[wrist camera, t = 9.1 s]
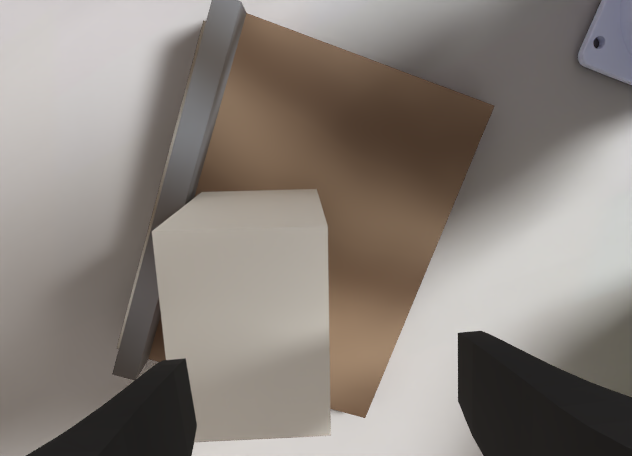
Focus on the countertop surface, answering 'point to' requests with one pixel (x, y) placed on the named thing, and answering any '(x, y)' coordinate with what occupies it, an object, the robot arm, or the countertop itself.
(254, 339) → the carton
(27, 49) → the countertop surface
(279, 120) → the shelf
